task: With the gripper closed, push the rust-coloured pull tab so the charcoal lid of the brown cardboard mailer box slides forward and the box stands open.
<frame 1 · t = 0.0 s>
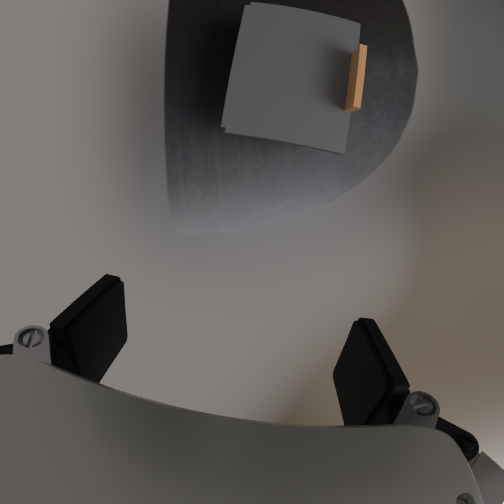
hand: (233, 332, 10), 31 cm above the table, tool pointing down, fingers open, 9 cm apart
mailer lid: (295, 66, 26), point 9 cm above the table, slide at 0.0 cm
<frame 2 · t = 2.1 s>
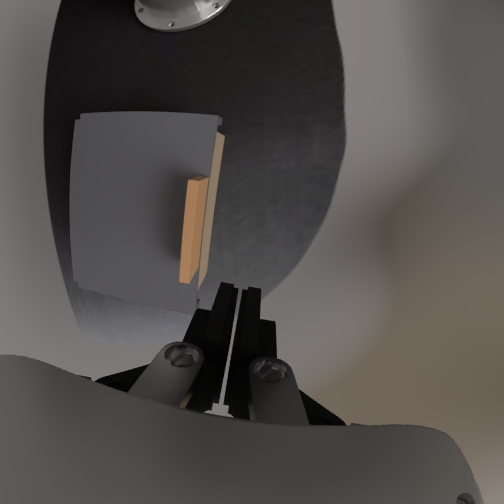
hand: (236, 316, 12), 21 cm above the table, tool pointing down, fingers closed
mailer box: (160, 199, 31), on the table
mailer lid: (124, 214, 23), point 9 cm above the table, slide at 0.0 cm
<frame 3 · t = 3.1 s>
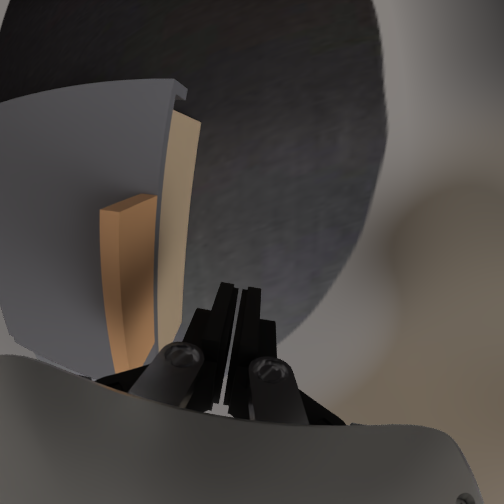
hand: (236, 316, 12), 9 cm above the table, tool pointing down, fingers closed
mailer box: (111, 220, 20), on the table
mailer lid: (39, 257, 12), point 9 cm above the table, slide at 0.0 cm
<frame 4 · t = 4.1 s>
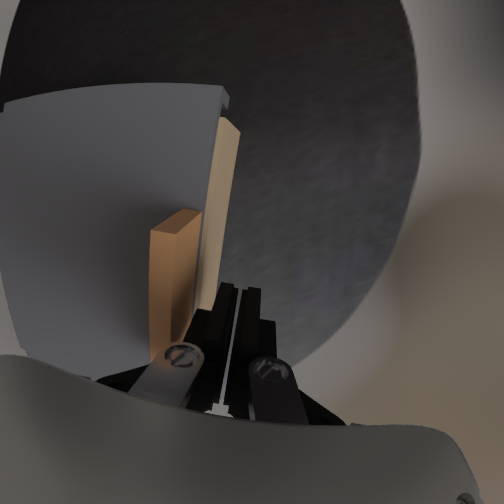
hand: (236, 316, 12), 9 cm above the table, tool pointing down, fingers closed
mailer box: (138, 231, 20), on the table
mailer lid: (60, 272, 12), point 9 cm above the table, slide at 0.6 cm, touching gripper
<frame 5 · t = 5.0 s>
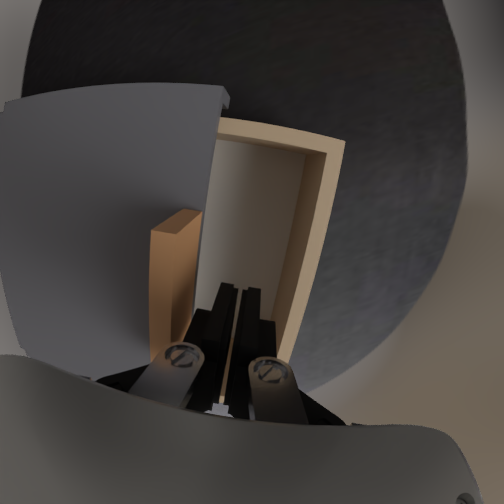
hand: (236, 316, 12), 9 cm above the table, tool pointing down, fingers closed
mailer box: (203, 242, 20), on the table
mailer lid: (60, 272, 12), point 9 cm above the table, slide at 5.7 cm, touching gripper
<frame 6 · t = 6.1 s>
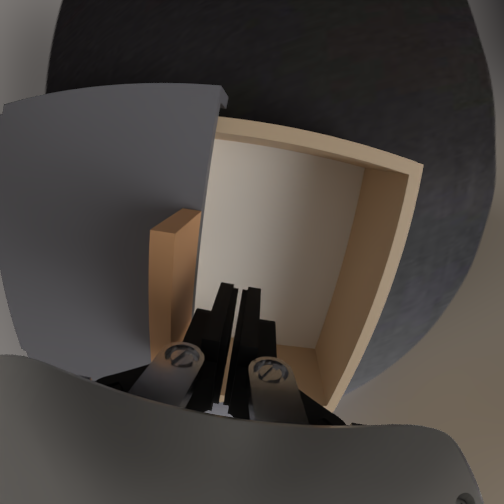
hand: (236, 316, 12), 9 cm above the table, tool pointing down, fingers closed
mailer box: (261, 252, 20), on the table
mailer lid: (60, 272, 12), point 9 cm above the table, slide at 9.9 cm, touching gripper
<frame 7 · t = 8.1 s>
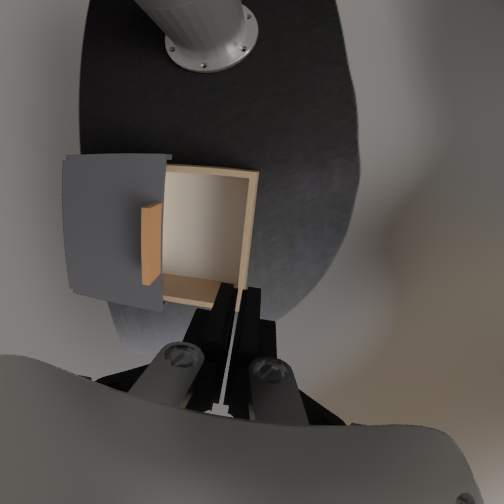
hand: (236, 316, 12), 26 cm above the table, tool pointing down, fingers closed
mailer box: (203, 226, 37), on the table
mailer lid: (103, 234, 29), point 9 cm above the table, slide at 10.0 cm
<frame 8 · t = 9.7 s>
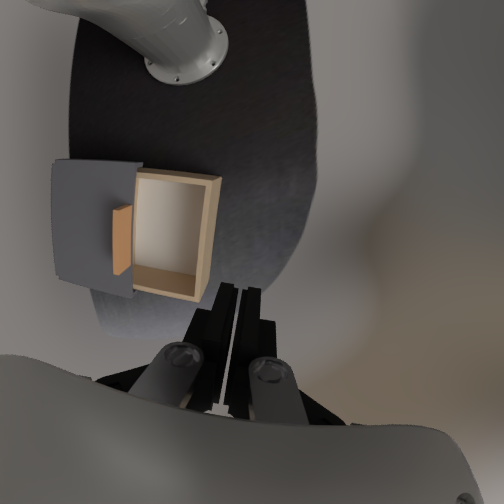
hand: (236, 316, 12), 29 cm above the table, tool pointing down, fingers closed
mailer box: (172, 224, 41), on the table
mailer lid: (84, 229, 33), point 9 cm above the table, slide at 10.0 cm
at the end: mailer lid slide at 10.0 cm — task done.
